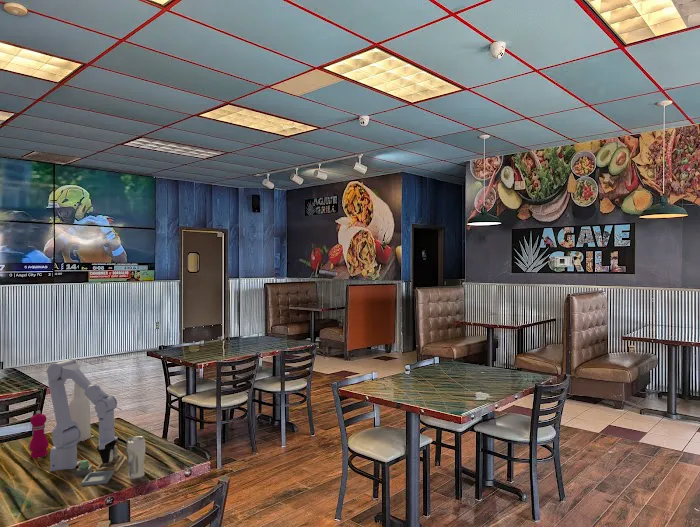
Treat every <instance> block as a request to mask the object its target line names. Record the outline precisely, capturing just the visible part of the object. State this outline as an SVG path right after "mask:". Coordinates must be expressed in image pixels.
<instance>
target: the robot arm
mask: <svg viewBox="0 0 700 527" xmlns="http://www.w3.org/2000/svg"><path fill="white" fill-rule="evenodd" d="M46 374H47V377H48V382H47V383H48V387H49V392H50V397H51V398H50V399H51V402H52V407H53V413H54V416H55V422H56V425H55V427H53V429H52V430H51V434H52V437H51V442H52V447H51V449H50V453H49V466H50V467H49V468H50V469H49V472H56V471H58V470H61V471H62V470H71V469H72V470H73V469H76V467H77V466H78V465H79V464H80V462H81V461H82V460H78V444H79V442H78V440H79V439H80V437H81V431H80V429H79V427H78V425H77V422H75V421H73V420H72V419H71V415H70V410H69V402H68V401H69V400H68V397H67V396H68V395H67V391H66V387H65V386H66V385H65V383H66V382H67V380H72V381H73V382H74V383H75V382H76V383H77V384H78V385H79V386H80V387H81V388H83V389H84V391H85V396H86V397H87V398H88V399H89V401H90V403H92V404H94V409H95V412H96V415H97V418H98V445H97V446H96V451H97V452H98V453H99V456H100V458H101V462H103V463H108V462H109V458H110V451H111V449H113V450H114V446H115V445H116V443H117V440H118V438H119V437H118V436H115V433H116V432H115V410H116V408H117V407H118V401H117V399H116V398H115V396H113V395H110V394H107V393H106V392H105V391H104V390H103V389H102V388H101V386H100V384H99V385H98V384H94V383H93V384H92V382H91V381H90V380H89V379H88V377H86V375H85V374H84V373H83V371H81V368H80V364H79V363H78V362H77V361H76V360H75V359H73V358H69V359H66V360H62V361H59V362H53V363H51V364H50V365H49V366H48V367H47V369H46Z"/></svg>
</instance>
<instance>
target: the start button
mask: <svg viewBox="0 0 700 527" xmlns="http://www.w3.org/2000/svg"><path fill="white" fill-rule="evenodd" d="M80 461H81V462H80V463H79V464H80V466H81V469H88V468H89V467H88V465H89V459H83V460H80Z"/></svg>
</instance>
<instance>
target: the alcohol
mask: <svg viewBox="0 0 700 527" xmlns="http://www.w3.org/2000/svg"><path fill="white" fill-rule="evenodd" d="M73 386H74V387H73V397H72V398H71V399H70V401H69V402H68V405H69V410H70V415H71V419H72V420H73V421H75V422H77V425H78V427H79V429H80V431H81V437H80V439H79V440H78V443H81V442H80V441H82V442H85V440H86V441H88V440H90V439H91V435H92V434H91V433H92V432H91V430H92V429H91V401H90V400H89V399H88V398H87V397H86V396H85V390H84V389H83V388H81V387H80V386H79V385H78V384H77V383H76V382H74V385H73ZM87 439H88V440H87Z"/></svg>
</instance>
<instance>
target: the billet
mask: <svg viewBox="0 0 700 527" xmlns="http://www.w3.org/2000/svg"><path fill="white" fill-rule="evenodd" d="M101 462H102V461H101ZM112 465H113V449H111V451H110V458H109V462H108V463H103V462H102V467H110V466H112Z"/></svg>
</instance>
